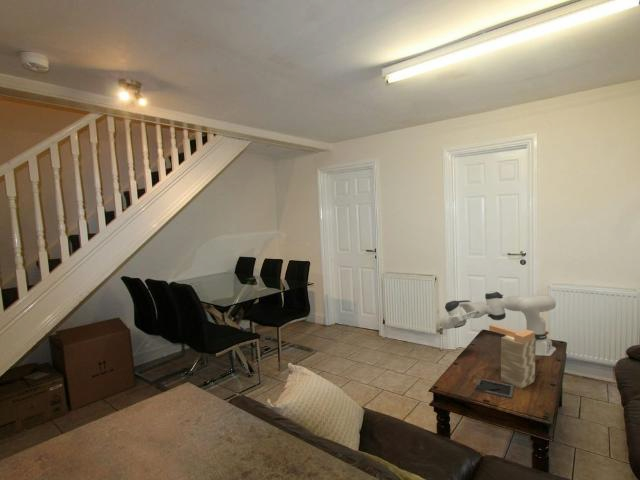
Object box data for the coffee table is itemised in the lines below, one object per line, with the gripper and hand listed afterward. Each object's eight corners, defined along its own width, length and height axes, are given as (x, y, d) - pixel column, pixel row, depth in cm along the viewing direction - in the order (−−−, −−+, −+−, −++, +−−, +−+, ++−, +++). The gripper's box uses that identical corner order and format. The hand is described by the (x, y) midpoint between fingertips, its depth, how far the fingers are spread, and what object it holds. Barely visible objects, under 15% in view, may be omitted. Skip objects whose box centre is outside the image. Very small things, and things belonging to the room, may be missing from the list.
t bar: (496, 327, 218) (496, 321, 217) (534, 338, 198) (534, 331, 198) (484, 331, 211) (484, 325, 211) (523, 343, 192) (523, 337, 191)
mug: (532, 369, 215) (532, 354, 214) (544, 374, 209) (545, 359, 207) (520, 374, 210) (520, 359, 209) (532, 379, 203) (532, 364, 202)
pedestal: (514, 373, 212) (514, 332, 209) (534, 381, 201) (535, 338, 198) (500, 380, 204) (501, 337, 202) (521, 388, 194) (522, 344, 191)
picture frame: (475, 391, 195) (512, 400, 185) (475, 388, 195) (512, 396, 185) (479, 380, 206) (513, 388, 196) (479, 377, 206) (513, 384, 196)
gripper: (470, 320, 241) (486, 315, 230) (451, 326, 230) (466, 321, 219) (466, 311, 243) (482, 305, 232) (447, 317, 232) (462, 312, 221)
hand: (474, 313), depth 225 cm, fingers open, 8 cm apart
